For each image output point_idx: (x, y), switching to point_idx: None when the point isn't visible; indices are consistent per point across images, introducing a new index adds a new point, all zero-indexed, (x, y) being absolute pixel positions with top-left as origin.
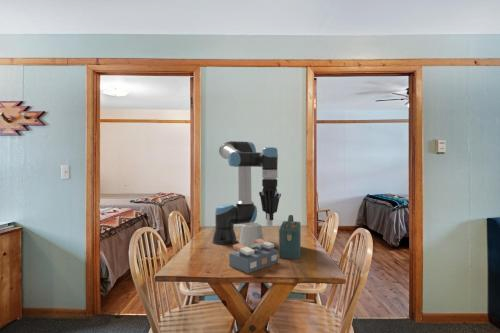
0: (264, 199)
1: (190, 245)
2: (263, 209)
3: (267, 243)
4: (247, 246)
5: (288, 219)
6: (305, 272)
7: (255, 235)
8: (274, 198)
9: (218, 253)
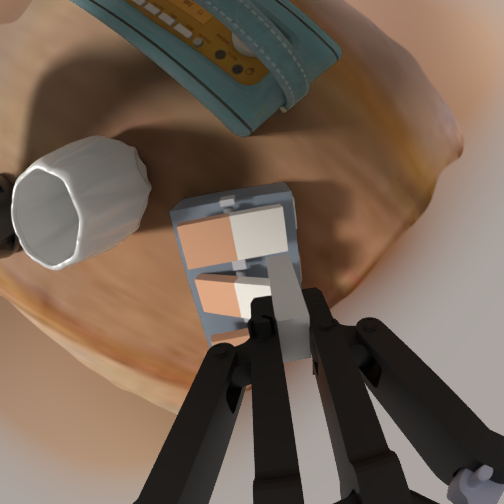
0: (200, 477)
1: (23, 312)
2: (235, 393)
3: (258, 235)
4: (228, 314)
5: (234, 24)
6: (403, 176)
7: (116, 215)
8: (435, 471)
9: (96, 294)
